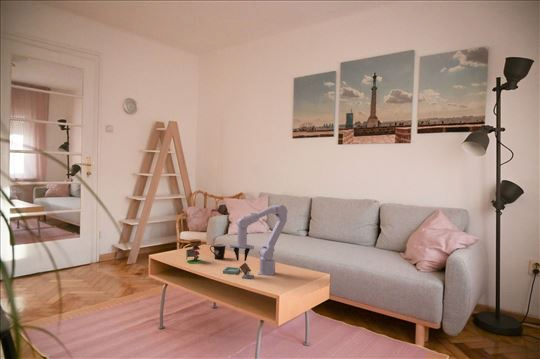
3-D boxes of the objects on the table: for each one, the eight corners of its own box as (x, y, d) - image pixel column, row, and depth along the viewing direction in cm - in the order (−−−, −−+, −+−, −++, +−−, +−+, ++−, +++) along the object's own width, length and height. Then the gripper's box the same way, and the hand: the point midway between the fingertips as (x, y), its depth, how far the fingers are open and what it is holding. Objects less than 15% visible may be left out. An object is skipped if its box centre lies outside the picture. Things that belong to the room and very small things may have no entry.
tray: (240, 270, 228) (240, 267, 228) (236, 274, 220) (236, 271, 220) (227, 269, 230) (227, 266, 230) (222, 273, 221) (222, 270, 221)
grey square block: (253, 276, 216) (254, 269, 216) (251, 279, 211) (251, 272, 210) (244, 275, 217) (244, 268, 217) (241, 278, 212) (241, 271, 212)
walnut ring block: (251, 270, 216) (246, 264, 219) (249, 269, 213) (245, 262, 215) (245, 275, 216) (241, 268, 218) (243, 273, 212) (239, 266, 214)
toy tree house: (205, 260, 253) (206, 238, 253) (200, 264, 240) (201, 242, 240) (189, 259, 254) (190, 238, 254) (183, 263, 242) (184, 241, 241)
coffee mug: (227, 259, 257) (228, 245, 257) (217, 261, 251) (217, 246, 251) (218, 256, 266) (219, 242, 265) (208, 257, 260) (209, 244, 260)
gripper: (255, 237, 221) (254, 259, 221) (232, 236, 223) (231, 258, 223) (252, 239, 214) (252, 262, 214) (229, 238, 216) (228, 260, 216)
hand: (241, 260), depth 218 cm, fingers open, 4 cm apart
